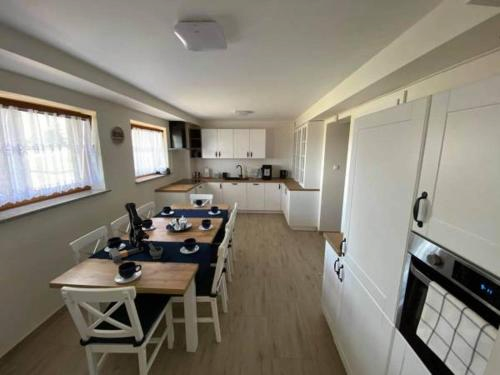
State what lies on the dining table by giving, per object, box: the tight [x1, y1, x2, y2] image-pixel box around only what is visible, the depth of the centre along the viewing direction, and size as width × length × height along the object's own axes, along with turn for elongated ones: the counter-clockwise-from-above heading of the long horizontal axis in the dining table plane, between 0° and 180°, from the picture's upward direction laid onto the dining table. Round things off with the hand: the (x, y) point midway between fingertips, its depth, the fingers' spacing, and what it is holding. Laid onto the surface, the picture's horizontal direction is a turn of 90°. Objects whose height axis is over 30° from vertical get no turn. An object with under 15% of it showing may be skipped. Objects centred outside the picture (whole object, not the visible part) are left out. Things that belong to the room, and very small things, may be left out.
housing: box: [108, 247, 122, 264], centre depth 169 cm, size 5×16×6 cm, turn 43°
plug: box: [119, 246, 144, 259], centre depth 177 cm, size 19×4×4 cm, turn 134°
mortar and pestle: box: [148, 242, 164, 260], centre depth 171 cm, size 11×9×12 cm
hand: (139, 249), depth 182 cm, fingers closed on plug, 3 cm apart
